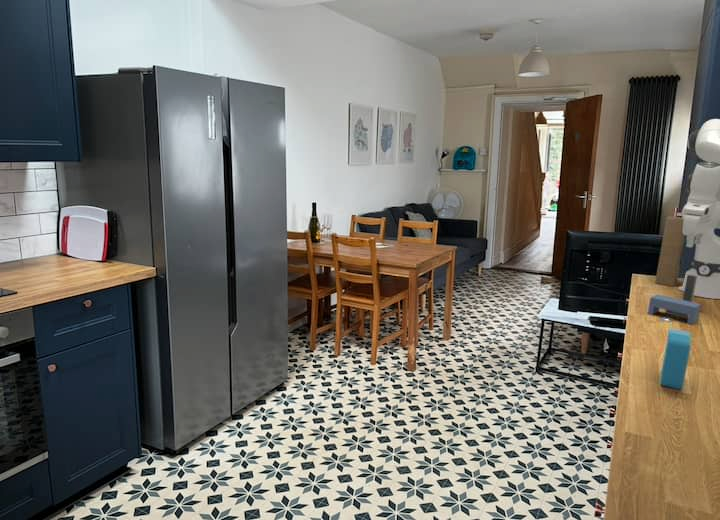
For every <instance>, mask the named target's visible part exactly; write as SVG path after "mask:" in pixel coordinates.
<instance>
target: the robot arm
mask: <svg viewBox="0 0 720 520" xmlns="http://www.w3.org/2000/svg"><path fill="white" fill-rule="evenodd" d="M687 148H688V150H689V152H690V153H691V154H692V155H694V156H697V157H699V159H701V160H702V161H701V162H698V163H697V164H696V165H695V168H694V170H693V172H692V173H690V174H689V175H687V183H686V188H685V190H686V192H688V194H689V195H688V197H687V201H686V203H685V204H684V206H683V208H682V209H681V217H682V218H683V220H684V222H683V235H685V236H686V245H685V246H686V247H687V248H693V247H694V245H695V249H694V250H695V252H694V258H693V259H692V262H691V268H690V269H688V270H687V271H686V272H685V276H684V280H683V283H682V285H681V286H678V287H677V290H680V291H682V292H684V291H685V286H686V281H687V276H688V275H694V276H697V280H696V285H695V290H694V295H693V296H696V297H700V298H707V299H713V300H714V299H717V300H718V299H719V300H720V236H718V235H716V234H715V229H720V119H719V118H713V119H708V120H707V121H705V122H704V123H703V124H702V126H701V128H699V129H696V130H695V131H692V132H691V133H690V134H689V135H688V138H687Z"/></svg>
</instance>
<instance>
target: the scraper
mask: <svg viewBox="0 0 720 520" xmlns="http://www.w3.org/2000/svg"><path fill="white" fill-rule="evenodd" d="M696 280H697V276H694V275H688V276H687V281H686V286H685V291H683V296H682V297H683V298H682V300H685V301H690V302H693V300H694V299H693V298H694V296H695V295H694V290H695V285H696ZM665 313H666V314H670V315H674V316H678V315H679V317H682V318H687V319H688V316H689V315H688V314H683V313H679V312H675V311H670V310H666V309H665Z"/></svg>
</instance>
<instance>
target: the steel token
mask: <svg viewBox="0 0 720 520" xmlns="http://www.w3.org/2000/svg"><path fill="white" fill-rule="evenodd" d="M659 320H660V321H661V322H664V321H665V322H666V323H670V322H672V323H674V319H673V318H671V317H667V316H660V318H659Z"/></svg>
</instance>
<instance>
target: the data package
mask: <svg viewBox="0 0 720 520" xmlns="http://www.w3.org/2000/svg"><path fill="white" fill-rule="evenodd" d="M691 340H692V339H691V332H690V331H686V330H685V331H684V330H680V329H676V328H669V329H668V334H667V339H666V344H665V345H666V346H665V349H664V355H663V361H662V366H661V372H660V373H661V374H660V375H661V376H660V385H661V386H663V387H667V388H671V389H677V390H683V388H684V383H685V378H686V374H687V368H688V363H689V359H690V353H691V349H692V341H691Z"/></svg>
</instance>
